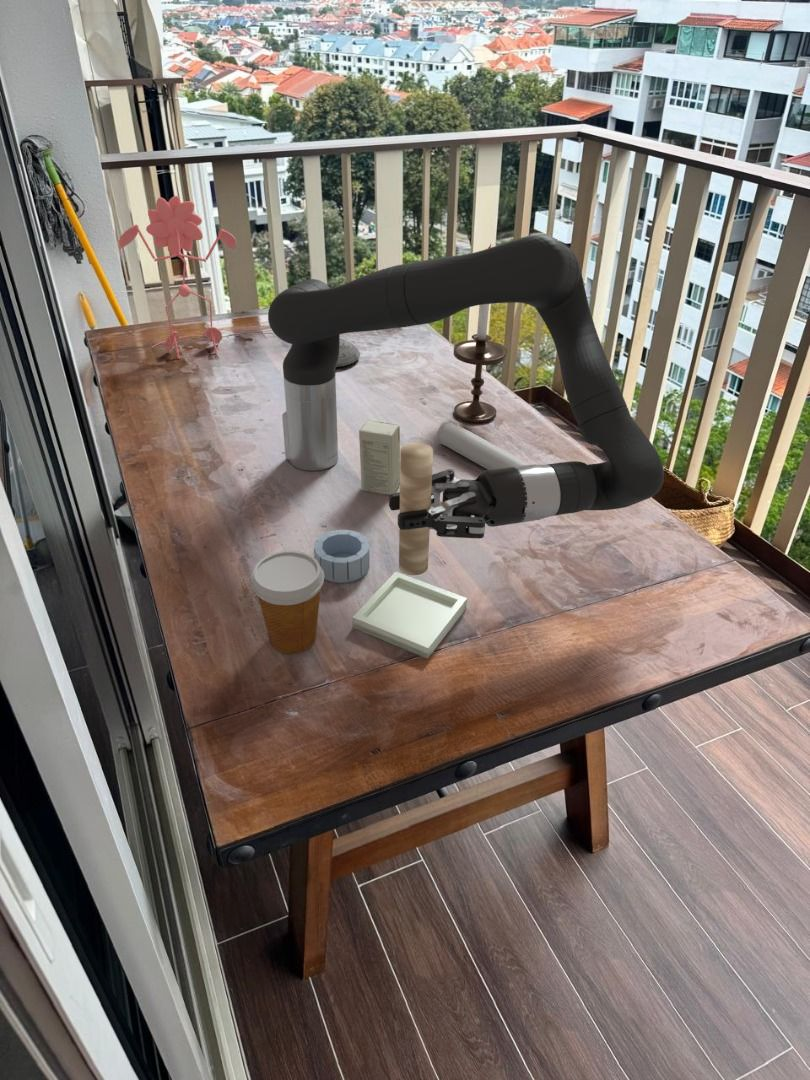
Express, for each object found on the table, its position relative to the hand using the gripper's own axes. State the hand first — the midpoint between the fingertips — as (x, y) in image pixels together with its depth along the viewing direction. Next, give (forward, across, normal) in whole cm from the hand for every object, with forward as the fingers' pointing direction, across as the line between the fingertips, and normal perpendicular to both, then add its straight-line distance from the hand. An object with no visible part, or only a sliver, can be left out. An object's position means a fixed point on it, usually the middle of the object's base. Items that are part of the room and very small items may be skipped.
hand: (394, 511), depth 97 cm
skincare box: (-7, -35, +19) cm, 41 cm away
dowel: (-3, 0, +9) cm, 10 cm away
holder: (+4, -14, +19) cm, 24 cm away
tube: (-29, -38, +19) cm, 51 cm away
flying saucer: (-9, -96, +19) cm, 98 cm away
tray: (-3, 0, +19) cm, 19 cm away
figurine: (+23, -110, +19) cm, 114 cm away
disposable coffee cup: (+14, 0, +19) cm, 24 cm away
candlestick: (-34, -59, +19) cm, 71 cm away
